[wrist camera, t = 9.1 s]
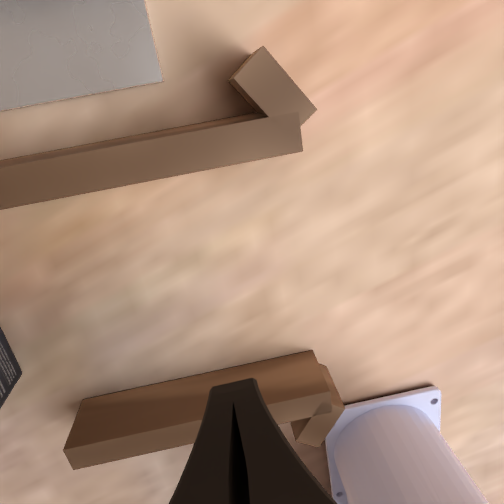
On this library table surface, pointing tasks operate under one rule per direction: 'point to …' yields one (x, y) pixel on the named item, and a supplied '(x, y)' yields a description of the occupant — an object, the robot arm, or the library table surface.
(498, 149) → the library table surface
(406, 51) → the library table surface
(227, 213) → the library table surface
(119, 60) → the bookend
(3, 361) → the small box
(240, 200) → the library table surface
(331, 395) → the chute
